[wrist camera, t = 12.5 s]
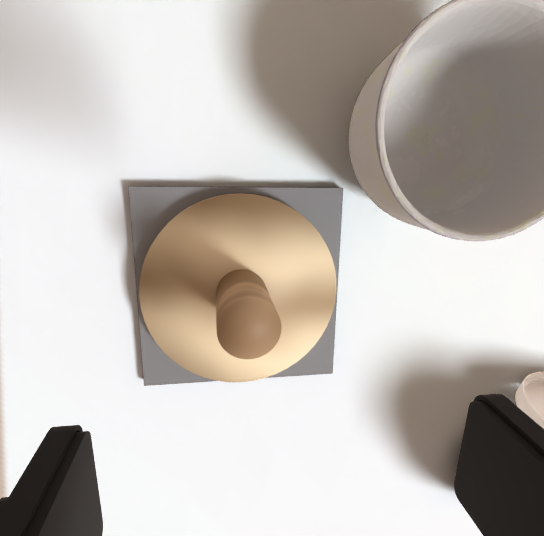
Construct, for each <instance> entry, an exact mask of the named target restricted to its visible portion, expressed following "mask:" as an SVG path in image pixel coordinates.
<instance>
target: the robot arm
mask: <svg viewBox="0 0 544 536" xmlns="http://www.w3.org/2000/svg"><path fill="white" fill-rule="evenodd" d="M454 488H455V493H456V496H457V498H458V500H459V501H460V503H461V504H462V506H463V507H464V508H465V510H466V511H467V513H468V514H469V516H470V517H471V518H472V520H473V521H474V523H475V524H476V526H477V527H478V528H479V530H480V531H481V533H482V534H483V536H544V429H543V428H542V427H541V426H540V425H538V424H537V423H536V422H535V421H534V420H533V419H531V418H530V417H529V416H528V415H527V414H525V413H524V412H523V411H522V410H521V409H519V408H518V407H517V406H516V405H515V404H514V403H512V402H511V401H510V400H509V399H508V398H506V397H505V396H503V395H502V394H489V395H479V396H477V397H476V398H475V399H474V402H471V403H470V405H469V409H468V414H467V420H466V425H465V430H464V435H463V440H462V446H461V451H460V456H459V461H458V466H457V471H456V477H455V482H454ZM102 531H103V520H102V512H101V505H100V498H99V491H98V484H97V477H96V469H95V462H94V455H93V448H92V441H91V435H90V432H88V431H85V432H83V431H82V428H81V426H79V425H74V426H60V427H52V428H51V429H50V430H49V431H48V433H47V434H46V436H45V438H44V439H43V441H42V443H41V444H40V446H39V448H38V449H37V451H36V453H35V454H34V456H33V458H32V459H31V461H30V463H29V464H28V466H27V468H26V469H25V471H24V473H23V474H22V476H21V478H20V479H19V481H18V483H17V484H16V486H15V488H14V489H13V491H12V493H11V494H10V496H9V497H4V498H1V499H0V536H102Z"/></svg>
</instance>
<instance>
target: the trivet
mask: <svg viewBox="0 0 544 536" xmlns="http://www.w3.org/2000/svg"><path fill="white" fill-rule="evenodd" d="M237 193H244V194H255V195H259V196H264V197H268V198H271V199H273V200H276V201H279V202H281V203H283V204H285V205H287V206H289V207H291V208H292V209H294V210H295V211H297V212H298V213H300V214H301V215H302V216H304V217H305V218H306V219H307V220H308V221H309V222H310V223H311V224H312V225H313V226H314V227H315V228H316V230H317V231H318V232H319V233H320V235H321V236H322V238H323V240H324V241H325V243H326V245H327V247H328V249H329V251H330V254H331V256H332V260H333V263H334V267H335V273H336V298H335V305H334V308H333V312H332V316H331V318H330V320H329V323H328V325H327V327H326V329H325V331H324V332H323V334H322V336H321V337H320V339H319V340H318V341H317V343H316V344H315V345H314V347H313V348H312V349H311V350H310V351H309V352H308V353H307V354H306V355H305V356H304V357H302V358H301V359H300V360H299V361H298V362H296V363H295V364H293V365H292V366H290V367H289V368H287V369H285V370H283V371H281V372H279V373H277V374H274V375H272V376H269V377H266V378H270V377H285V376H300V375H315V374H331V373H333V356H334V339H335V321H336V304H337V287H338V269H339V252H340V235H341V217H342V200H343V188H310V187H151V186H130V187H129V199H130V211H131V224H132V237H133V250H134V262H135V275H136V288H137V301H138V313H139V326H140V339H141V352H142V364H143V377H144V386H148V385H163V384H178V383H193V382H209V381H216V380H212V379H208V378H204V377H202V376H199V375H197V374H194V373H192V372H190V371H188V370H186V369H184V368H183V367H181V366H180V365H178V364H177V363H176V362H174V361H173V360H172V359H171V358H169V357H168V356H167V355H166V354H165V353H164V352H163V351H162V350H161V348H160V347H159V346H158V345H157V343H156V342H155V340H154V339H153V337H152V336H151V334H150V332H149V330H148V328H147V326H146V323H145V321H144V318H143V314H142V311H141V306H140V298H139V282H140V276H141V270H142V267H143V263H144V260H145V257H146V255H147V253H148V251H149V249H150V246H151V245H152V243H153V242H154V240H155V239H156V237H157V236H158V234H159V233H160V232H161V231H162V229H163V228H164V227H165V226H166V225H167V224H168V223H169V222H170V221H171V220H172V219H173V218H174V217H175V216H177V215H178V214H179V213H180V212H182V211H184V210H185V209H187V208H188V207H190V206H192V205H194V204H196V203H198V202H200V201H202V200H205V199H208V198H211V197H214V196H219V195H225V194H237Z"/></svg>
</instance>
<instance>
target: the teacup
mask: <svg viewBox="0 0 544 536" xmlns="http://www.w3.org/2000/svg"><path fill="white" fill-rule="evenodd" d="M349 152H350V158H351V163H352V167H353V170H354V172H355V175H356V177H357V180H358V182H359V183H360V185H361V187H362V188H363V190H364V191H365V193H366V194H367V196H368V197H369V198H370V199H371V200H372V201H373V202H374V203H375V204H376V205H377V206H378V207H379V208H380V209H382V210H383V211H385V212H386V213H388V214H389V215H391V216H392V217H394V218H396V219H398V220H401V221H403V222H405V223H408V224H411V225H414V226H417V227H420V228H423V229H427V230H430V231H432V232H434V233H436V234H439V235H442V236H445V237H449V238H453V239H457V240H466V241H487V240H494V239H500V238H503V237H506V236H510V235H514V234H516V233H518V232H521V231H523V230H525V229H526V228H528V227H530V226H532V225H534V224H536V223H537V222H539V221H540V220H542V219H543V218H544V0H452V1H450V2H448V3H447V4H445V5H443V6H441V7H440V8H438V9H437V10H435V11H434V12H432V13H431V14H430V15H428V16H427V17H426V18H425V19H424V20H422V21H421V22H420V23H419V24H418V25H417V26H416V27H415V28H414V29H413V30H412V32H411V33H410V34H409V35H408V37H407V38H406V39H405V40H404V41H403V42H402V43H400V44H399V45H398V46H397V47H396V48H395V49H394V50H393V51H392V52H391V53H390V54H389V55H388V56H387V57H386V58H385V59H384V60H383V61H382V62H381V63H380V64H379V65H378V67H377V68H376V69H375V70H374V71H373V73H372V74H371V75H370V77H369V78H368V80H367V82H366V83H365V85H364V86H363V88H362V90H361V92H360V94H359V96H358V98H357V101H356V103H355V106H354V109H353V113H352V116H351V121H350V127H349Z"/></svg>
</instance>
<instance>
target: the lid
mask: <svg viewBox="0 0 544 536" xmlns="http://www.w3.org/2000/svg"><path fill="white" fill-rule="evenodd" d="M139 298H140V306H141V311H142V314H143V318H144V321H145V323H146V326H147V328H148V330H149V332H150V334H151V336H152V337H153V339H154V340H155V342H156V343H157V345H158V346H159V347H160V348H161V350H162V351H163V352H164V353H165V354H166V355H167V356H168V357H169V358H171V359H172V360H173V361H174V362H176V363H177V364H178V365H180V366H181V367H183V368H184V369H186V370H188V371H190V372H192V373H194V374H197V375H199V376H202V377H204V378H208V379H212V380H216V381H224V382H246V381H254V380H258V379H263V378H266V377H269V376H272V375H274V374H277V373H279V372H281V371H283V370H285V369H287V368H289V367H290V366H292V365H293V364H295V363H296V362H298V361H299V360H300V359H301V358H302V357H304V356H305V355H306V354H307V353H308V352H309V351H310V350H311V349H312V348H313V347H314V345H315V344H316V343H317V341H318V340H319V339H320V337H321V336H322V334H323V332H324V331H325V329H326V327H327V325H328V323H329V320H330V318H331V316H332V312H333V308H334V305H335V298H336V273H335V267H334V263H333V260H332V256H331V254H330V251H329V249H328V247H327V245H326V243H325V241H324V240H323V238H322V236H321V235H320V233H319V232H318V231H317V230H316V228H315V227H314V226H313V225H312V224H311V223H310V222H309V221H308V220H307V219H306V218H305V217H304V216H302V215H301V214H300V213H298V212H297V211H295V210H294V209H292V208H291V207H289V206H287V205H285V204H283V203H281V202H279V201H276V200H273V199H271V198H268V197H264V196H259V195H255V194H244V193H237V194H225V195H219V196H214V197H211V198H208V199H205V200H202V201H200V202H198V203H196V204H194V205H192V206H190V207H188V208H187V209H185V210H184V211H182V212H180V213H179V214H178V215H177V216H175V217H174V218H173V219H172V220H171V221H170V222H169V223H168V224H167V225H166V226H165V227H164V228H163V229H162V231H161V232H160V233H159V234H158V236H157V237H156V239H155V240H154V242H153V243H152V245H151V246H150V249H149V251H148V253H147V255H146V257H145V260H144V263H143V267H142V270H141V276H140V282H139Z"/></svg>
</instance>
